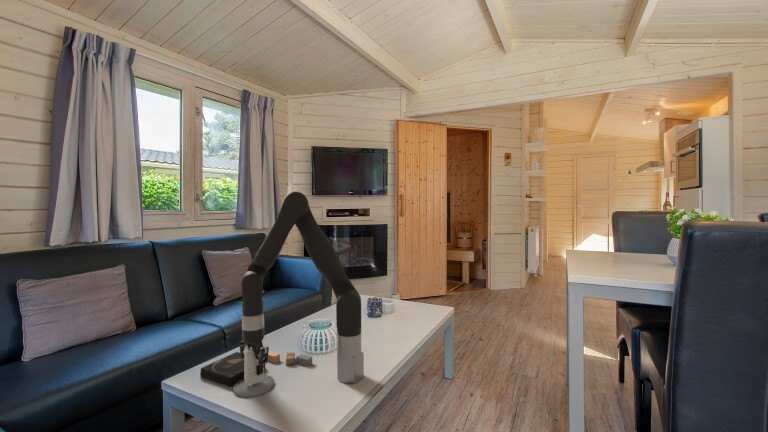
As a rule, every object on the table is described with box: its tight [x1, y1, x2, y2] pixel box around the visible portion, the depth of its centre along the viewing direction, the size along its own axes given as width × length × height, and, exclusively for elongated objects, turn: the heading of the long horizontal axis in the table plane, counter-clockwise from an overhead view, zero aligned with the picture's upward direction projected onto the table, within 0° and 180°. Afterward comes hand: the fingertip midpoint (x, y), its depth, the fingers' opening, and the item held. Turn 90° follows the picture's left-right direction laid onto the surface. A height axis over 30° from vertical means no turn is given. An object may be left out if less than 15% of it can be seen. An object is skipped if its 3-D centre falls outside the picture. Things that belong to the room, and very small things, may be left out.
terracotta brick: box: [267, 350, 281, 364], centre depth 148 cm, size 6×3×3 cm, turn 57°
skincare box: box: [243, 348, 265, 385], centre depth 126 cm, size 6×4×12 cm
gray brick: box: [295, 353, 313, 367], centre depth 145 cm, size 6×3×3 cm, turn 62°
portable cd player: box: [199, 351, 266, 388], centre depth 137 cm, size 16×17×4 cm
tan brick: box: [285, 351, 296, 366], centre depth 147 cm, size 6×3×3 cm, turn 10°
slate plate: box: [232, 374, 275, 398], centre depth 127 cm, size 14×14×1 cm
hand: (254, 371), depth 127 cm, fingers closed on skincare box, 5 cm apart
